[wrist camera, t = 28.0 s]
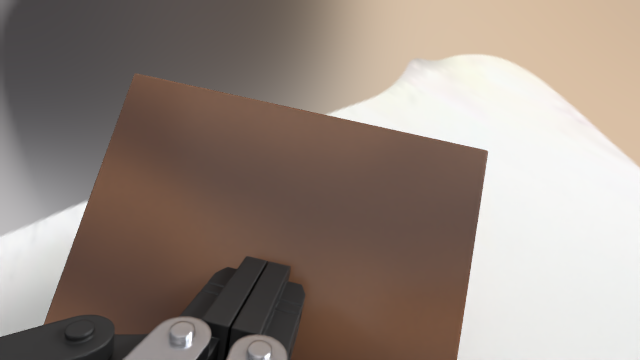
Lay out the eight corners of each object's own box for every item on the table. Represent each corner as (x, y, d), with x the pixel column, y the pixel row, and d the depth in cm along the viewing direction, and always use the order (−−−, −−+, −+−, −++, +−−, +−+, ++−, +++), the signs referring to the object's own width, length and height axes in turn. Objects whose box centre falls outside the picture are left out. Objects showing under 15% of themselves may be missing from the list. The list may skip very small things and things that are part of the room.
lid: (144, 81, 15) (134, 72, 14) (479, 155, 14) (489, 150, 13) (-34, 582, 12) (-61, 607, 11) (393, 713, 11) (399, 749, 10)
